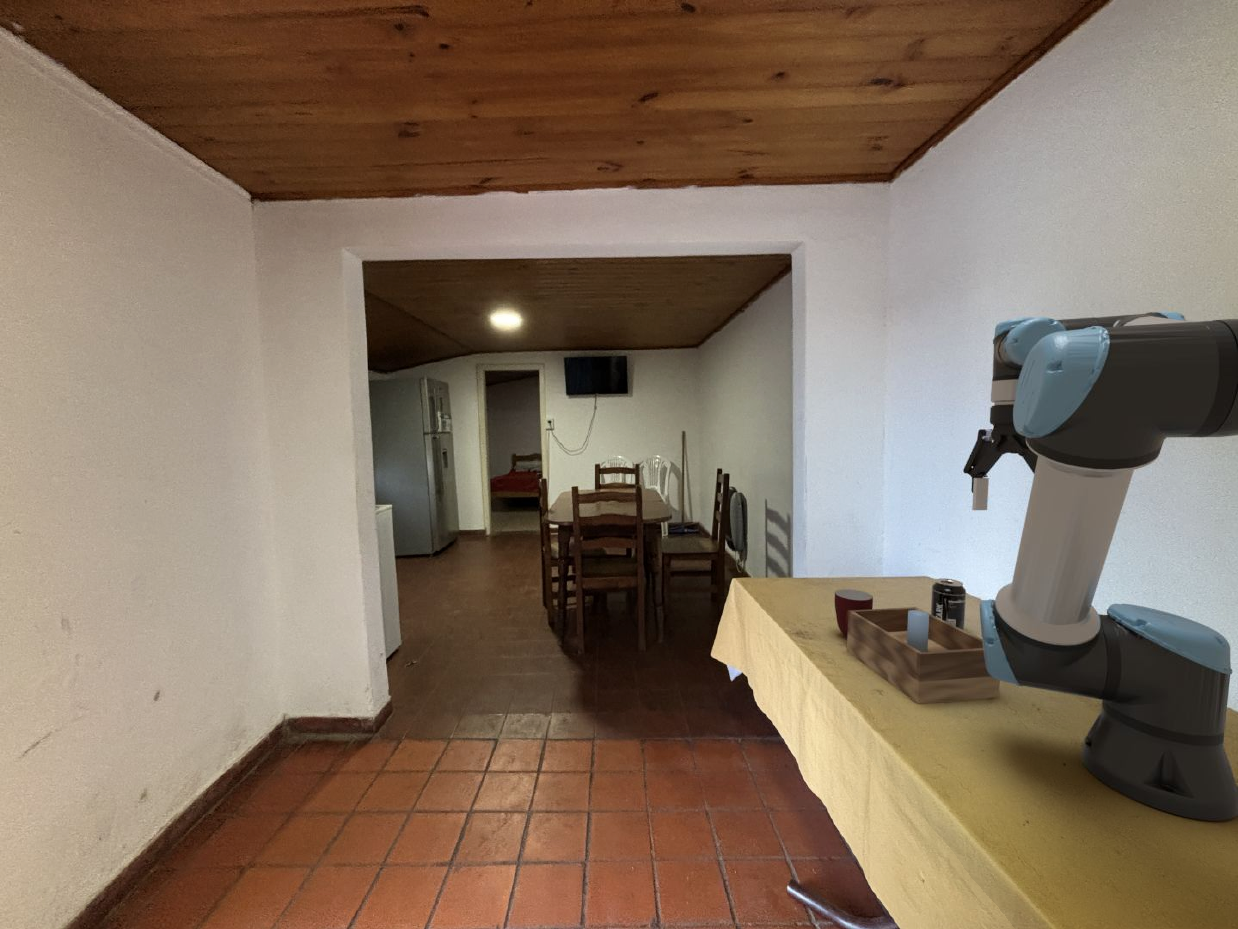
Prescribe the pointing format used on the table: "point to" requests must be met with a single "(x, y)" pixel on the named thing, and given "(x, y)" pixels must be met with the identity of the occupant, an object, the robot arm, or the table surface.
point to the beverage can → (949, 601)
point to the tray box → (921, 656)
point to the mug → (850, 606)
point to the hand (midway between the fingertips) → (1008, 515)
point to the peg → (918, 630)
